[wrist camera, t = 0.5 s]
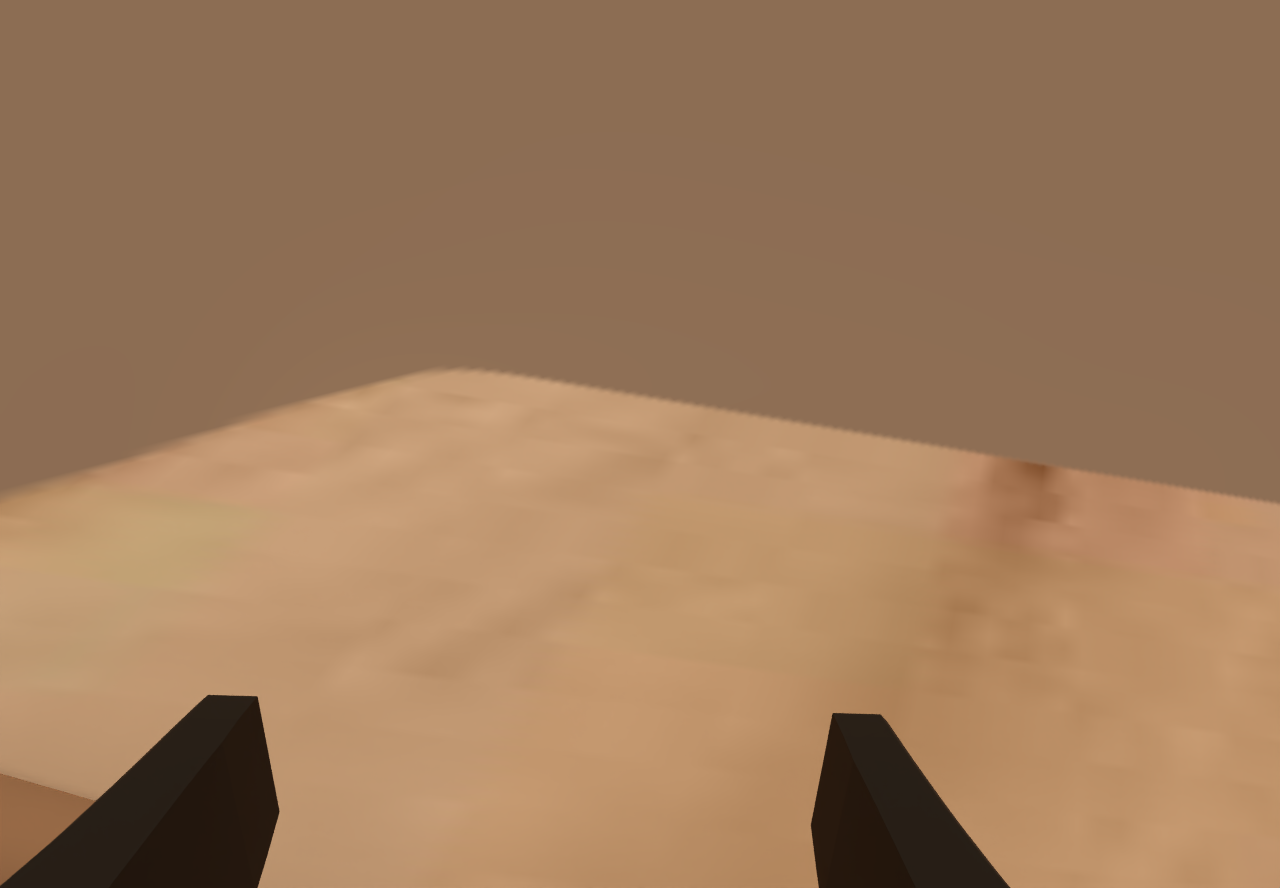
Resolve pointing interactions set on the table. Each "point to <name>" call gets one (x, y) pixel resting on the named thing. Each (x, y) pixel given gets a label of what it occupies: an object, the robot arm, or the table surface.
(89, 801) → the walnut box
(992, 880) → the robot arm
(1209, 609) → the table surface
